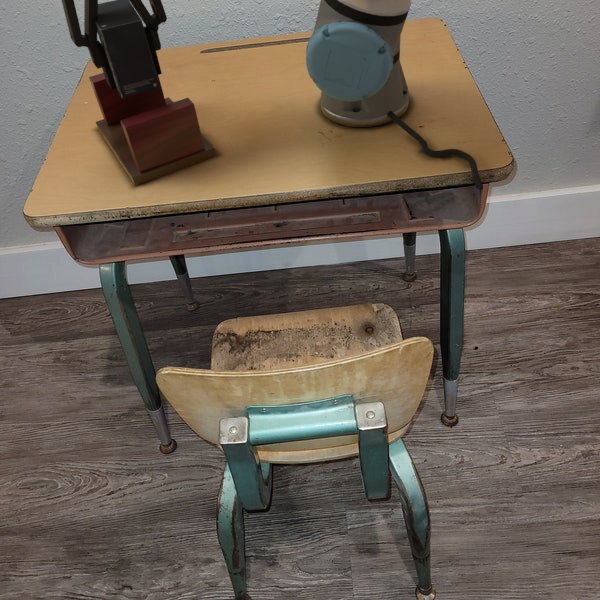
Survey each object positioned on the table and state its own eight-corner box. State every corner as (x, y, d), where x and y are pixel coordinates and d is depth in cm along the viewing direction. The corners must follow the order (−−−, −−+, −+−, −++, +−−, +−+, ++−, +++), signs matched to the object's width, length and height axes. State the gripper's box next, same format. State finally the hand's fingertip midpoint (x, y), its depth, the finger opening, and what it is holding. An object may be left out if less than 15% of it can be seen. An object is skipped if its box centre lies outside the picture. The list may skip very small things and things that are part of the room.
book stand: (216, 155, 97) (204, 101, 90) (135, 186, 93) (116, 132, 86) (170, 104, 110) (157, 54, 104) (98, 129, 107) (79, 78, 100)
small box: (163, 88, 91) (143, 18, 83) (122, 100, 90) (97, 30, 82) (147, 61, 98) (128, -6, 90) (109, 72, 97) (85, 5, 89)
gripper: (146, -113, 82) (183, 52, 99) (2, -81, 77) (67, 88, 93) (165, -102, 77) (201, 68, 94) (13, -68, 72) (79, 107, 89)
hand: (134, 78), depth 94 cm, fingers closed on small box, 7 cm apart
